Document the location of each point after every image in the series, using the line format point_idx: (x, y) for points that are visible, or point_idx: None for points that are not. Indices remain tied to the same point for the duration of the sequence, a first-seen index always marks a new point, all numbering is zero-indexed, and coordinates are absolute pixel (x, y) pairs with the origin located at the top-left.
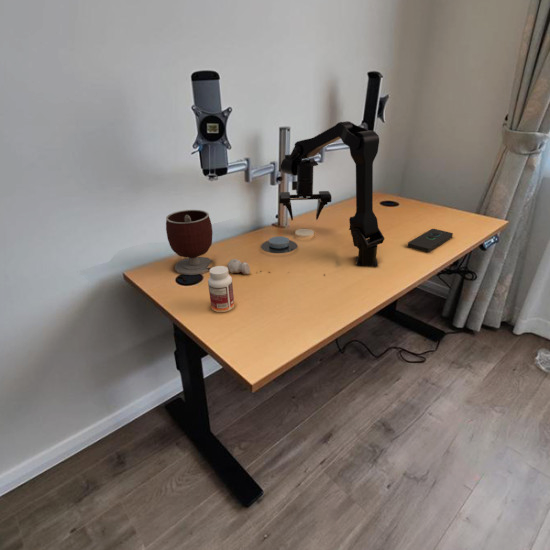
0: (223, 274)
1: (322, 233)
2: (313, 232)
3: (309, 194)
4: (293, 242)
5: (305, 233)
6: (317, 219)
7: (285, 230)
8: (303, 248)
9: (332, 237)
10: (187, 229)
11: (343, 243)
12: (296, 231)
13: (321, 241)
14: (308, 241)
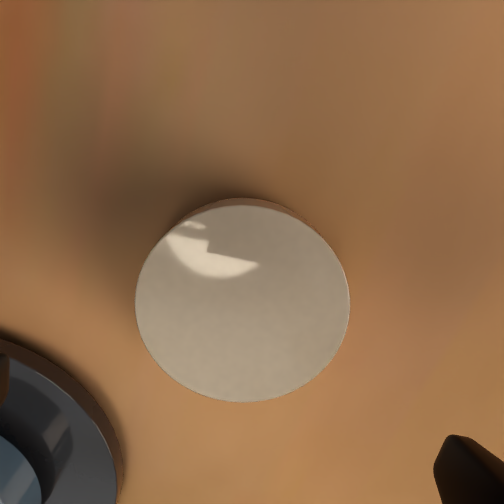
0: None
1: (455, 234)
2: (332, 349)
3: None
4: (94, 447)
5: (238, 355)
6: (451, 484)
7: (83, 7)
8: (172, 484)
9: (488, 352)
10: None
11: None
12: (155, 273)
13: (355, 405)
14: None
